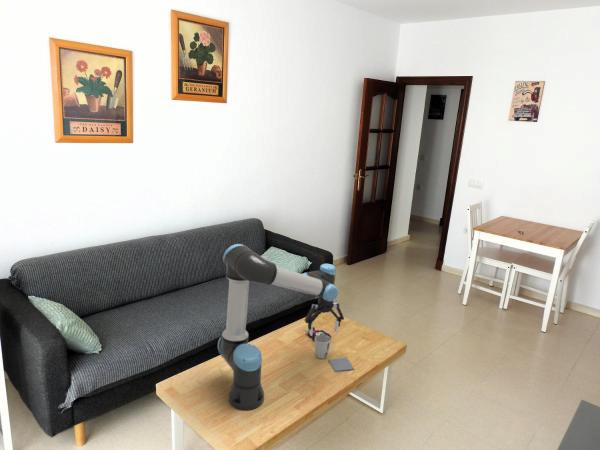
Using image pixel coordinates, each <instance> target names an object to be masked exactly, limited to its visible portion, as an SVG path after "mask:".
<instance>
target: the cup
mask: <svg viewBox="0 0 600 450" xmlns="http://www.w3.org/2000/svg"><path fill="white" fill-rule="evenodd" d="M331 339H332V337H331V338H330V337H329V336H327V335H317V336H315V341H314V349H315V350H314V351H315V356H316V357H317V358H318V359H320V360H322V359H326V358H327V356H328V354H329V350H330V346H331V341H332V340H331Z"/></svg>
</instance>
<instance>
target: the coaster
mask: <svg viewBox="0 0 600 450" xmlns="http://www.w3.org/2000/svg"><path fill="white" fill-rule="evenodd" d="M328 363H329V365H330V366H331V369H333V371H334V373H341V372H342V373H343V372H349V371H354V370H355V367H354V366H353V364H352V363H351V361H350V360H349V359H348V357H340V358H331V359H328Z"/></svg>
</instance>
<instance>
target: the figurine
mask: <svg viewBox="0 0 600 450" xmlns="http://www.w3.org/2000/svg"><path fill="white" fill-rule="evenodd" d="M309 330H310V329H308V328H307V329H305V331H304V332H306V333H307V336H311V335H310V334H309ZM317 335H327V336H329V337H330V338H331V339H332V336H331V334H330V333H328V332H326V331H325V330H322V329H321V330H319V329H317V328H315V326H313V333H312V336H311V340H313V341H314V342H315V336H317Z"/></svg>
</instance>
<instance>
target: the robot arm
mask: <svg viewBox="0 0 600 450" xmlns="http://www.w3.org/2000/svg"><path fill="white" fill-rule="evenodd" d="M222 259H223V260H222V261H223V265H225V266H226V271H225V272H226V273H225V277H226V279H228V296H227V307H226V308H227V311H226V323H225V324H226V325H225V329H224V330H223V332H222V334H221V336H220V337H219V339H218V341H217V351H218V353H219V354H220V356H221V358H222V359H224V361H225V362H226V363H227V364H228V366H229V367H230V368H231V370H232V371H233V373H232V374H233V377H232V378H233V379H232V380H233V381H232V384H231V386H230V387H231V388H230V390H229V393H228V402H229V404H230V405H231V406H232V407H233V408H234V409H237V410H241V411H251V410H255V409H256V408H259V407H260V406H262V405H263V403H264V401H265V392H264V389H263V386H262V363H263V357H262V352H261V349H260V348H259V347H258V346H256V345H254V344H252V343H249V332H248V331H247V330H246V329H247V327H246V326H247V315H248V302H249V289H250V283H255V284H259V285H263V286H268V287H269V286H272V285H273V286H277V287H281V288H285V289H288V290H293V291H296V292H299V293H300V292H301V293H303V294H307V295H311V296H315V297H318V299H317V304H315V303H312V304H311V307H310V309H309V311H308V313H307V315H306V316H305V319H304V322H305V323H306V324H307V329H310V330H309V334H310V336H311V337H312V333H313V327H314V323H313V322H314V321H315V320H316V319H317V318H318V317H319V316H320V315H321V314H325V313H331V314H332V315H333V316H334V317H335V321H334V323H335V324H334V332H335V333H336V334H338V333H339V327H340V326H341V322H342V321H343V320H345V317H344V314H343V312H342V311H341V308H340V304H339V302H338V301H335V299H336V298H337V297H338V294H339V289H338V287H337V286H335V283H336V266H335V265H333V264H330V263H323V264H320V266H319V270H313V271H309V272H304V273H300V272H296V271H294V270H290V269H286V268H284V267H279V266H277V264H276V263H274V262H272V261H269V260H267V259H265V258H263V257H262V256H260V255H259V254H258V253H256V252H255V251H253V250H252V249H250V248H249V247H248V246H246V245H244V244H241V243H236V244H233V245H231V246H229V247H228V248H227V249H226V250H225V251H224V253H223V255H222ZM334 301H335V302H334ZM334 307H335V309H336V311H337V313H338V314H337V313H336V312H335V311H334V310H333V308H334Z"/></svg>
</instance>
